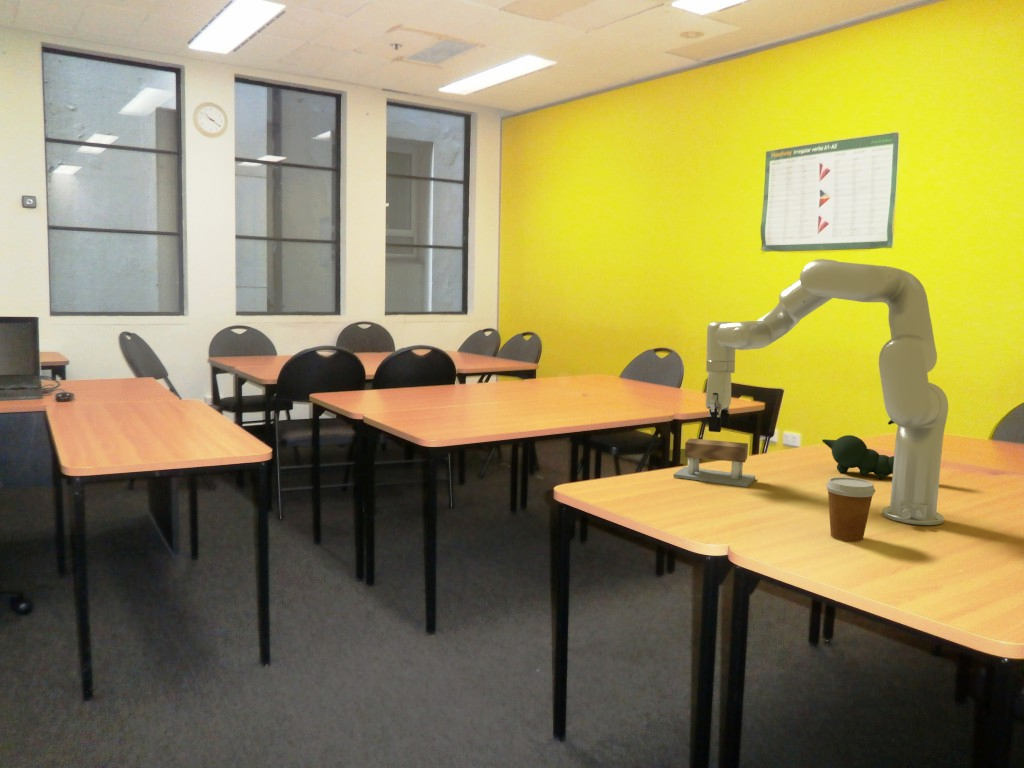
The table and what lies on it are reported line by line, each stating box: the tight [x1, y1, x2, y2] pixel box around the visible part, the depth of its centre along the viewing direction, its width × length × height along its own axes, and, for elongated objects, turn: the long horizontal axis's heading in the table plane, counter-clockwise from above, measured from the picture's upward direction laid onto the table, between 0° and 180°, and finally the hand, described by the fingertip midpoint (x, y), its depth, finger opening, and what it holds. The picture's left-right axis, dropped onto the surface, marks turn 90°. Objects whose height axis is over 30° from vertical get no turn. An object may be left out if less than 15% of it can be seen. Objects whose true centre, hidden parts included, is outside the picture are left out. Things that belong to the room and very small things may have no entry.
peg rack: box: [673, 457, 756, 488], centre depth 211 cm, size 11×20×6 cm, turn 62°
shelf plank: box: [684, 437, 749, 463], centre depth 211 cm, size 16×7×4 cm, turn 68°
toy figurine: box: [821, 419, 895, 480], centre depth 218 cm, size 9×19×25 cm
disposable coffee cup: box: [825, 476, 876, 543], centre depth 160 cm, size 10×10×12 cm
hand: (718, 429), depth 210 cm, fingers open, 9 cm apart
